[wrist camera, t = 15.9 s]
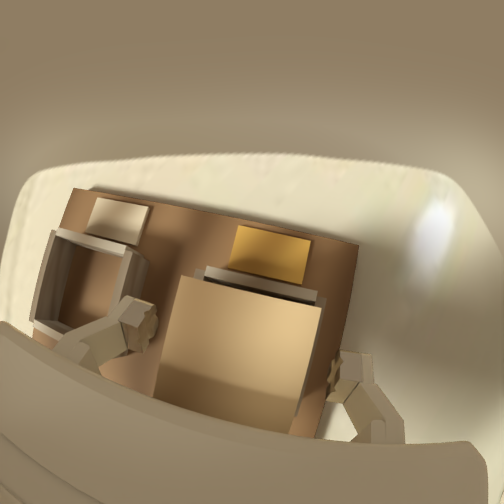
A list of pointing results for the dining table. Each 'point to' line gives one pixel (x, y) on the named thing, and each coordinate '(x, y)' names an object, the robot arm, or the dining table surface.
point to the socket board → (191, 265)
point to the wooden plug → (236, 354)
